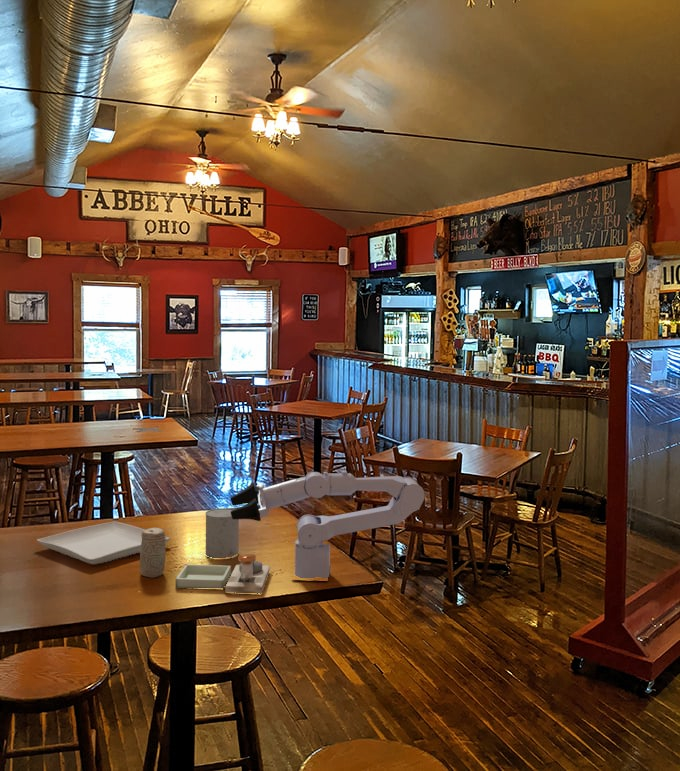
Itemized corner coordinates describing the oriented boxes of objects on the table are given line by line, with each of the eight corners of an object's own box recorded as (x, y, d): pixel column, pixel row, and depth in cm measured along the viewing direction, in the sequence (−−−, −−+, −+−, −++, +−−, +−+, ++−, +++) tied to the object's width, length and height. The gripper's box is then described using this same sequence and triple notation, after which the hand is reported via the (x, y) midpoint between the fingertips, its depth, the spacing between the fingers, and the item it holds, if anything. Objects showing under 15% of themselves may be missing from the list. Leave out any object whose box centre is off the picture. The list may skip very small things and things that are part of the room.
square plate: (91, 572, 196) (91, 558, 195) (35, 551, 212) (34, 538, 212) (171, 548, 217) (171, 535, 217) (114, 530, 233) (114, 519, 233)
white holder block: (269, 572, 197) (269, 555, 197) (261, 595, 181) (261, 576, 181) (236, 571, 197) (236, 554, 197) (225, 594, 181) (225, 575, 181)
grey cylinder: (206, 561, 206) (207, 518, 205) (203, 550, 215) (204, 509, 214) (241, 558, 208) (241, 516, 207) (236, 548, 217) (236, 507, 216)
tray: (230, 574, 195) (231, 565, 195) (223, 590, 184) (223, 580, 184) (186, 573, 195) (186, 564, 195) (175, 588, 184) (175, 578, 184)
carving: (150, 581, 189) (150, 535, 188) (134, 574, 194) (133, 529, 193) (171, 575, 194) (171, 530, 193) (154, 568, 199) (154, 524, 198)
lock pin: (256, 584, 188) (256, 554, 188) (253, 590, 184) (254, 559, 183) (239, 583, 189) (239, 553, 188) (236, 590, 184) (236, 559, 183)
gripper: (276, 469, 198) (227, 482, 197) (280, 493, 184) (227, 508, 183) (282, 491, 200) (234, 505, 199) (287, 517, 186) (235, 532, 186)
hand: (231, 508), depth 191 cm, fingers open, 7 cm apart
